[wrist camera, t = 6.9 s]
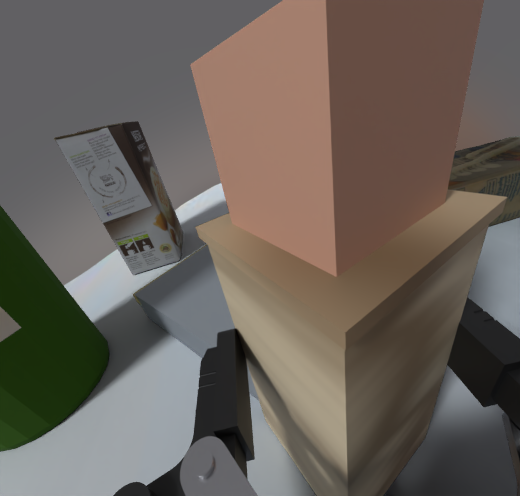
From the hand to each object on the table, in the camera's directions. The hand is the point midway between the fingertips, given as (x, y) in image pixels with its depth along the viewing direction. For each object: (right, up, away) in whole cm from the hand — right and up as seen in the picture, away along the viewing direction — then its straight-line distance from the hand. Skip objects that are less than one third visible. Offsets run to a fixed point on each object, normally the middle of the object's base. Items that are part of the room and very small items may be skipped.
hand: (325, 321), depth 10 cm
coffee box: (-17, +2, +25) cm, 30 cm away
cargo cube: (-1, +4, -4) cm, 5 cm away
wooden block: (+1, -6, +2) cm, 7 cm away
